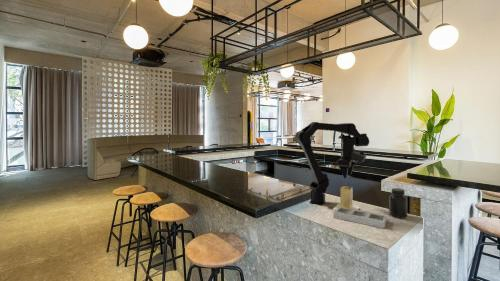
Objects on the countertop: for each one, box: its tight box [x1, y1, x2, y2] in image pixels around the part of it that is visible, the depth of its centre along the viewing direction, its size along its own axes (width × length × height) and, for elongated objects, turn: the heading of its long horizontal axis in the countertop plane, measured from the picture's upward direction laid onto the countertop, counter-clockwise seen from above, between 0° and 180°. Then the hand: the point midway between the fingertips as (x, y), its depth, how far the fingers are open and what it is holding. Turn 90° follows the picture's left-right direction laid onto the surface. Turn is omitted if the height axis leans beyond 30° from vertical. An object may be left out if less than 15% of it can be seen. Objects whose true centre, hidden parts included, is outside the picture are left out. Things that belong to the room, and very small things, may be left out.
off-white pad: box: [332, 203, 360, 211], centre depth 118 cm, size 10×9×1 cm
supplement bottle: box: [388, 187, 408, 220], centre depth 108 cm, size 7×7×12 cm
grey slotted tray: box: [332, 207, 388, 229], centre depth 105 cm, size 20×8×2 cm, turn 54°
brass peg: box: [339, 185, 354, 209], centre depth 117 cm, size 4×4×10 cm
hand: (347, 176), depth 129 cm, fingers open, 9 cm apart
